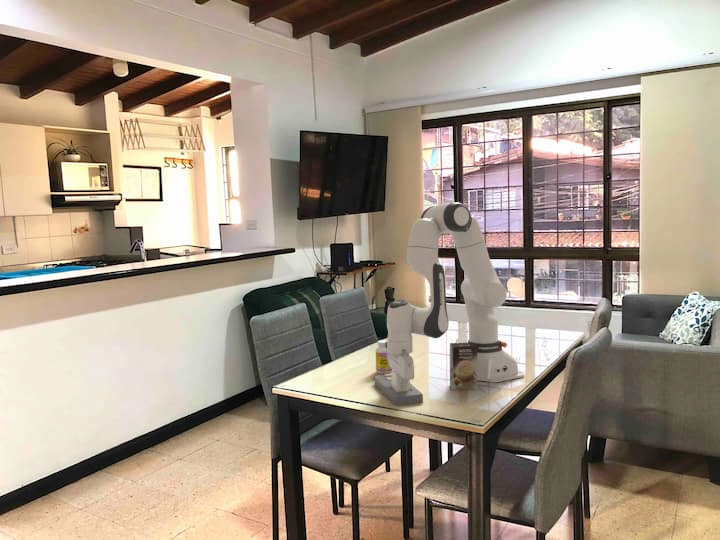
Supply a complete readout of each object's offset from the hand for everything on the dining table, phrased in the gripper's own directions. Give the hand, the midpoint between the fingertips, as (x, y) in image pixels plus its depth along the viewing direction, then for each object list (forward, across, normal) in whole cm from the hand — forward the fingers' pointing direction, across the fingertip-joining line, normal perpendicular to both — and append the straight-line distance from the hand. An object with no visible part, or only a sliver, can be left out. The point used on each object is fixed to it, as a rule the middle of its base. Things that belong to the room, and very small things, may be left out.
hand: (401, 385), depth 202 cm
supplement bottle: (+4, +32, -3) cm, 32 cm away
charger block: (+3, 0, 0) cm, 3 cm away
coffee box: (+4, +3, -25) cm, 26 cm away
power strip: (+4, +5, 0) cm, 6 cm away
